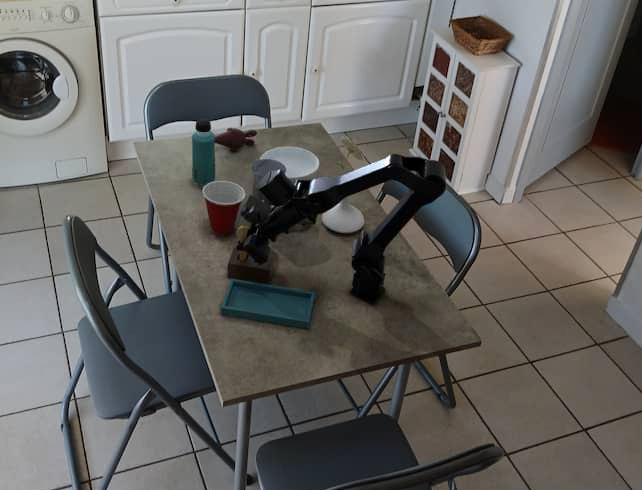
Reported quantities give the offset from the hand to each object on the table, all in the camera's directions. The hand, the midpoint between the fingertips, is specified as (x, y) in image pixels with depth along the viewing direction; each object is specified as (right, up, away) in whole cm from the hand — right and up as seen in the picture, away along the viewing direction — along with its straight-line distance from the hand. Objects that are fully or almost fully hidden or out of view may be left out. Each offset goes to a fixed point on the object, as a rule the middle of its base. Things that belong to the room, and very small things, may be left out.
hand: (237, 246), depth 176 cm
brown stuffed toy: (-7, +27, +50) cm, 57 cm away
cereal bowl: (+11, +16, +38) cm, 42 cm away
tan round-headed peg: (+1, -6, +4) cm, 8 cm away
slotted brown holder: (+3, -7, +4) cm, 8 cm away
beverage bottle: (-13, +16, +33) cm, 39 cm away
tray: (+8, -14, -5) cm, 16 cm away
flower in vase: (+26, +5, +24) cm, 35 cm away
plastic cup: (-5, +4, +17) cm, 19 cm away
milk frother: (+9, +6, +23) cm, 26 cm away
